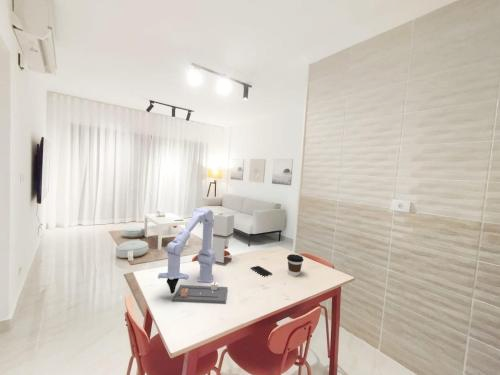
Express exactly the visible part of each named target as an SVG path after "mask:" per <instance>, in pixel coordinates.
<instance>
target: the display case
mask: <svg viewBox="0 0 500 375" xmlns="http://www.w3.org/2000/svg"><path fill="white" fill-rule="evenodd" d="M234 223H235V214H234V213H233V214H229V215H223V212H219V213H216V214H213V223H212V244H211V249H212V250H213V251H214V252H215V257H216V261H215V263H214V265H218V266H223V267H225V266H227V265H228V264H229V263H230V262H232V260H233V258H232V257H229V256H225V250H227V249H229V243H230V242H229V240H230V239H233V238H234V225H235V224H234Z"/></svg>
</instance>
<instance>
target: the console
mask: <svg viewBox="0 0 500 375" xmlns="http://www.w3.org/2000/svg"><path fill="white" fill-rule="evenodd" d="M182 288H188V295H187V297H181V290H182ZM228 289H229V287H228V286H218V287H217V290H211V285H210V286H209V285H207V286H206V285H193V284H188V285H187V284H180V285H179V286H178V288H177V289H176V292H174V295H173V297H172V302H175V303H176V302H177V303H197V304H198V303H199V304H200V303H201V304H220V305H222V304H223V305H224V304H225V305H226V303H227V295H228Z"/></svg>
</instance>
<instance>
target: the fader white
mask: <svg viewBox="0 0 500 375" xmlns="http://www.w3.org/2000/svg"><path fill="white" fill-rule="evenodd" d="M211 282H212V283H211V284H210V286H211V290H217V287H219V286H218V285H219V283H218V282H217V281H211Z"/></svg>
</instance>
